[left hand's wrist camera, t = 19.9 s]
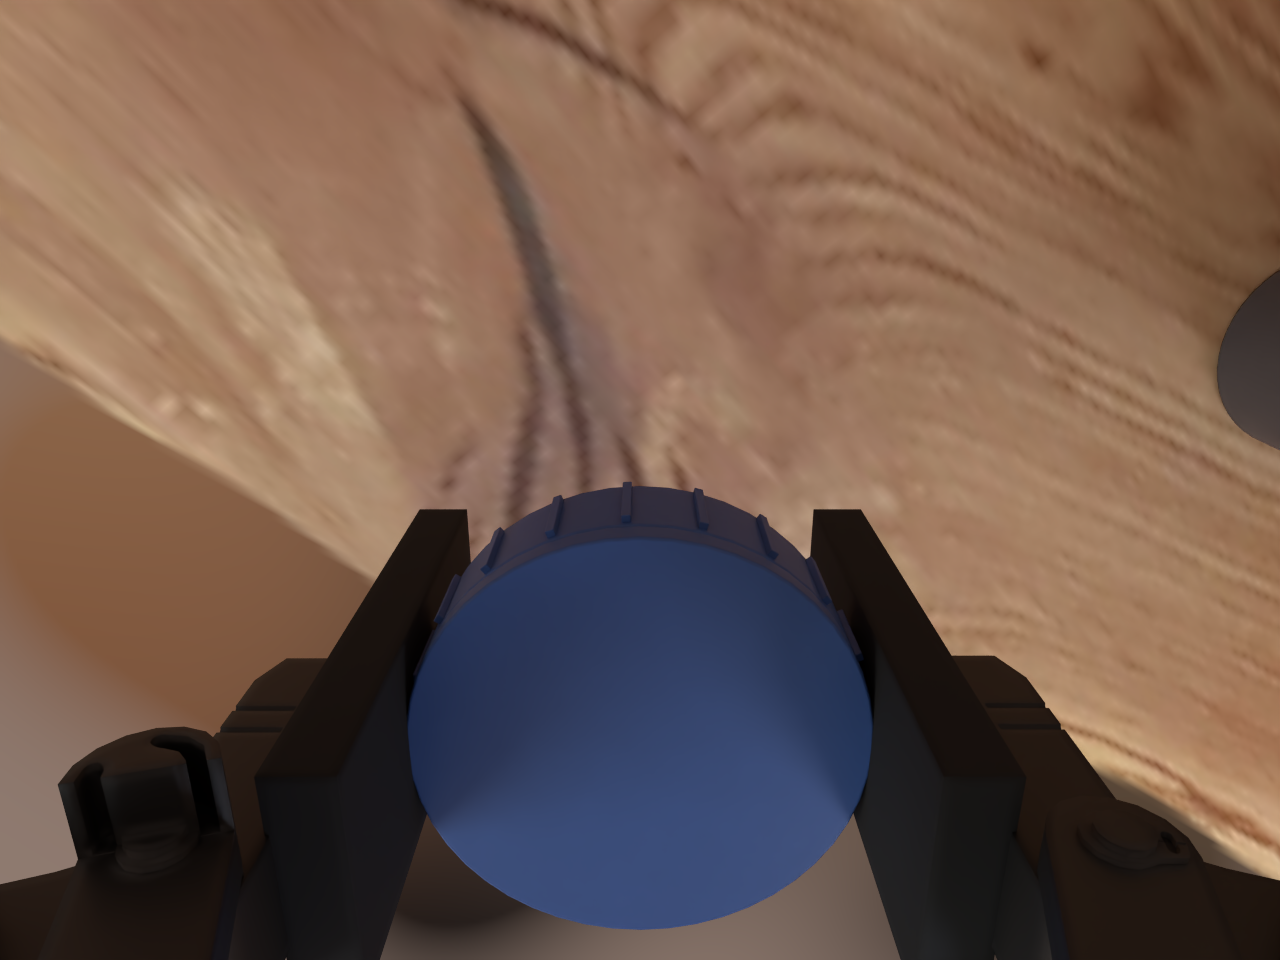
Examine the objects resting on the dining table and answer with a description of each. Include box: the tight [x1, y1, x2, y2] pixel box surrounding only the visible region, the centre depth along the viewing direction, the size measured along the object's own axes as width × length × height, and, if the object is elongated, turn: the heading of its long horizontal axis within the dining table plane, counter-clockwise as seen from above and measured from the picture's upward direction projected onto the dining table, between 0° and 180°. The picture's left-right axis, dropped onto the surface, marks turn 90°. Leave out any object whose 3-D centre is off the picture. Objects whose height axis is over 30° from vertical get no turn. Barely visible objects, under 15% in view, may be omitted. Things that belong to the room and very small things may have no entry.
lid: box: [407, 482, 873, 930], centre depth 11 cm, size 6×6×2 cm
